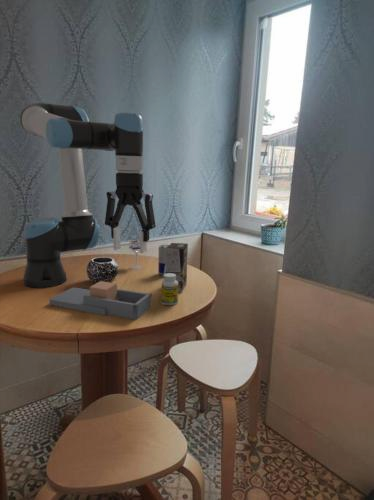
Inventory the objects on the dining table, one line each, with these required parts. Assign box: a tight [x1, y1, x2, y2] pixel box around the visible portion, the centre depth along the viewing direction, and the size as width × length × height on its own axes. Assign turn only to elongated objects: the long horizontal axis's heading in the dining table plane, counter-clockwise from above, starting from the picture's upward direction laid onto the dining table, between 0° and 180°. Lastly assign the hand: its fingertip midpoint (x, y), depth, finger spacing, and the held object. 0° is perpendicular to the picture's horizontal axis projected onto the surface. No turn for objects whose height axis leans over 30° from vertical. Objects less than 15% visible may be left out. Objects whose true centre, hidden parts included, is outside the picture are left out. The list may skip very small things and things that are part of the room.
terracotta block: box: [89, 280, 118, 300], centre depth 111 cm, size 6×6×5 cm
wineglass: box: [128, 238, 143, 270], centre depth 153 cm, size 7×7×12 cm
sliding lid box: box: [48, 286, 152, 321], centre depth 112 cm, size 30×12×4 cm, turn 71°
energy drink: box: [157, 244, 170, 277], centre depth 144 cm, size 5×5×12 cm
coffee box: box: [166, 242, 189, 293], centre depth 129 cm, size 9×6×16 cm
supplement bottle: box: [161, 273, 179, 306], centre depth 116 cm, size 5×5×10 cm
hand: (130, 250), depth 105 cm, fingers open, 8 cm apart
